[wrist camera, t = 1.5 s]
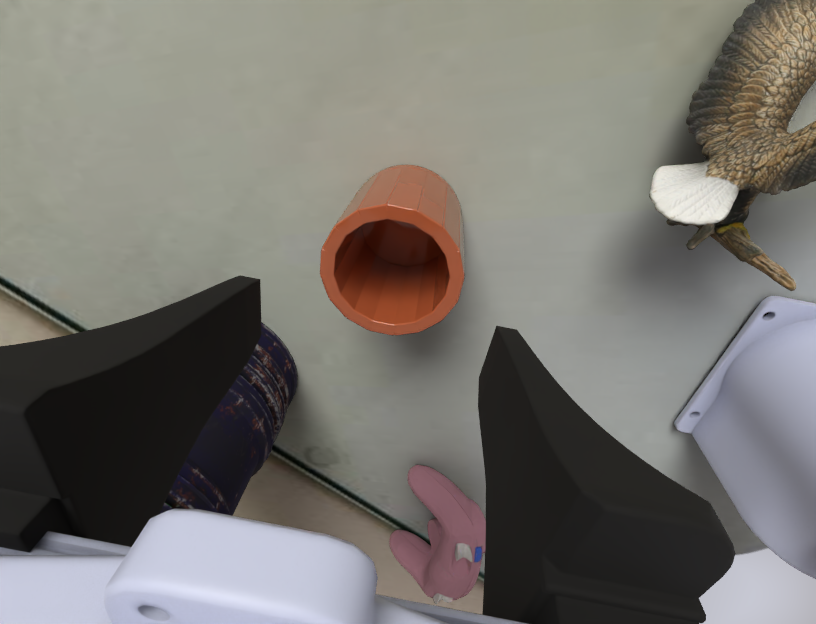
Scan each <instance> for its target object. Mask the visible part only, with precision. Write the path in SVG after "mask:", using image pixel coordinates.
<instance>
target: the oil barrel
mask: <svg viewBox="0 0 816 624" xmlns="http://www.w3.org/2000/svg"><path fill="white" fill-rule="evenodd" d="M296 388H297V371H296V366H295V363H294V361H293V358H292V356H291V354H290V353H289V351H288V349H287V347H286V346H285V345H284V344H283V342H282V341H281V340H280V338H279V337H278V336H277V335H276V334H275V333H274V332H273V331H272V330H270V329H269V328H268V327H267V326H265V325H264V324H263V323H261V337H260V339H259V341H258V343H257V345H256V347H255V349H254V351H253V353H252V355H251V357H250V359H249V361H248V363H247V364H246V366H245V367H244V369H243V370H242V372H241V373H240V375H239V376H238V377H237V379H236V380H235V382H234V383H233V385H232V386H231V388H230V389H229V391H228V392H227V393H226V395H225V396H224V398H223V399H222V401H221V402H220V403H219V405H218V406H217V408H216V409H215V411H214V412H213V414H212V415H211V416H210V418H209V420H208V421H207V423H206V424H205V426H204V428H203V429H202V431H201V433H200V435H199V436H198V438H197V440H196V442H195V444H194V446H193V447H192V449H191V451H190V453H189V455H188V457H187V459H186V461H185V463H184V465H183V467H182V468H181V470H180V472H179V474H178V476H177V478H176V480H175V482H174V484H173V486H172V488H171V490H170V492H169V494H168V497H167V499H166V501H165V503H164V505H163V507H162V509H161V511H160V513H159V514H161V513H164V512H166V511H168V510H172V509H199V510H205V511H210V512H216V513H221V514H226V515H231V516H232V515H233V513H234V511H235V509H236V507H237V505H238V503H239V501H240V499H241V497H242V495H243V493H244V490H245V488H246V486H247V484H248V482H249V480H250V478H251V476H253V475H254V474H256V473H257V472H258V470H259V469H260V468H261V467H262V465H263V463H264V462H265V461H266V460H267V458H268V457H269V455H270V453H271V451H272V446H273V443H274V442H275V440H276V438H277V436H278V433H279V431H280V429H281V427H282V425H283V422H284V418H285V414H286V412H287V408H288V406H289V405H290V403H291V401H292V399H293V397H294V395H295V392H296Z"/></svg>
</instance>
